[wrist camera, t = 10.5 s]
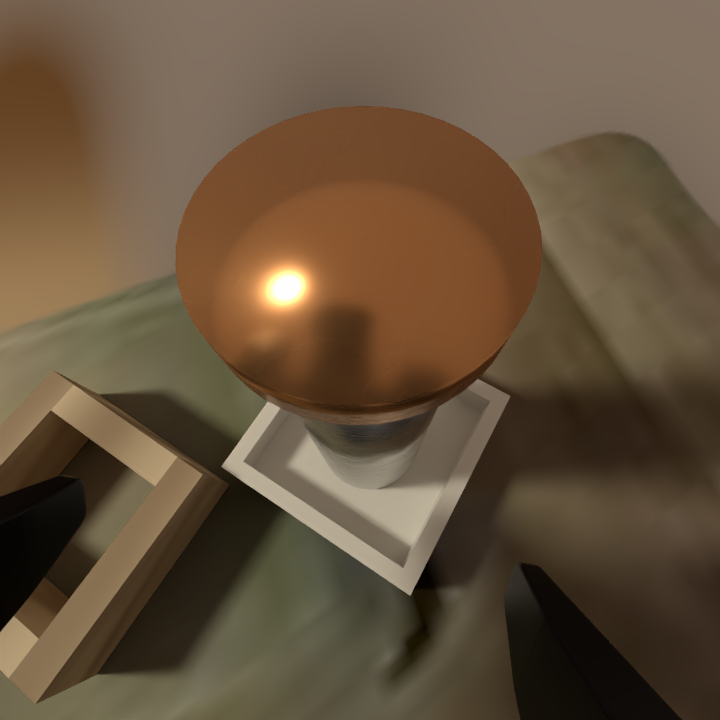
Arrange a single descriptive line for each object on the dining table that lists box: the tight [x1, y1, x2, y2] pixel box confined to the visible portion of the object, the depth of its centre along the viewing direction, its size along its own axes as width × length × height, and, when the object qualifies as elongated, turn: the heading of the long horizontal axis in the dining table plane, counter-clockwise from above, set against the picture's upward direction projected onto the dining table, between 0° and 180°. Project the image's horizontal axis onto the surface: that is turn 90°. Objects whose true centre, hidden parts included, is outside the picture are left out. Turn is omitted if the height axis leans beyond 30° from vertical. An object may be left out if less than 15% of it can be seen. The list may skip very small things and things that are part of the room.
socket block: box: [0, 371, 229, 704], centre depth 16 cm, size 8×8×3 cm
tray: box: [221, 379, 510, 595], centre depth 17 cm, size 8×8×2 cm
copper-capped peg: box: [176, 106, 542, 489], centre depth 12 cm, size 5×5×13 cm
